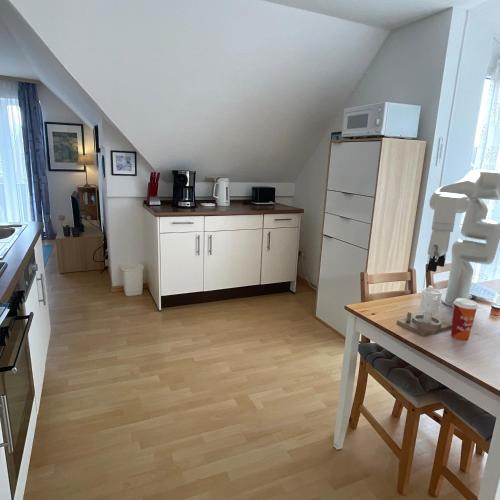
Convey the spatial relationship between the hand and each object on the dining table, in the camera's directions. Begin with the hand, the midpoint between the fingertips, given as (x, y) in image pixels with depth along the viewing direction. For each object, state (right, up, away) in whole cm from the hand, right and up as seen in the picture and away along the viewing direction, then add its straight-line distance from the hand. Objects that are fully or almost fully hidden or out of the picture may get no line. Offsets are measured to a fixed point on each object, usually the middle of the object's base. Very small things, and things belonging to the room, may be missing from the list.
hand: (435, 268), depth 146 cm
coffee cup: (+8, -27, -4) cm, 28 cm away
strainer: (-1, -23, +5) cm, 24 cm away
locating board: (-1, -24, +6) cm, 25 cm away
